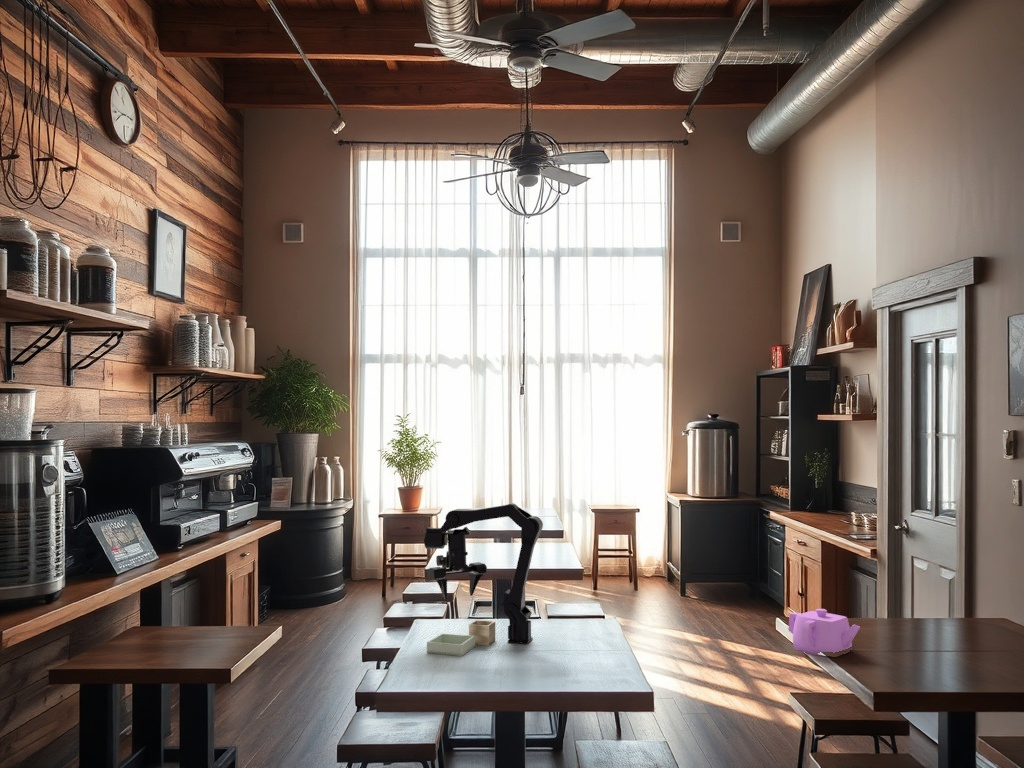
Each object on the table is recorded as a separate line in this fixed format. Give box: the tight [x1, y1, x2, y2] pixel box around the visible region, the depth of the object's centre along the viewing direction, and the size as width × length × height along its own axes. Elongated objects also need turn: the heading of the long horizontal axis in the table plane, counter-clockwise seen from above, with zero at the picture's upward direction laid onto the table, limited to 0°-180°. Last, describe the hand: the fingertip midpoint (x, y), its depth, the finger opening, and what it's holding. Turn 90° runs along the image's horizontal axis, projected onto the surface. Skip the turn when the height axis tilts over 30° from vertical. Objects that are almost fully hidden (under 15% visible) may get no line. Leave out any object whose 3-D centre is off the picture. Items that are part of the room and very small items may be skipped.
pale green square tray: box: [426, 633, 476, 657], centre depth 249 cm, size 11×11×3 cm
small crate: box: [468, 619, 496, 647], centre depth 257 cm, size 6×6×6 cm
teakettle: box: [788, 608, 861, 656], centre depth 247 cm, size 17×17×12 cm
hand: (458, 597), depth 263 cm, fingers open, 9 cm apart
